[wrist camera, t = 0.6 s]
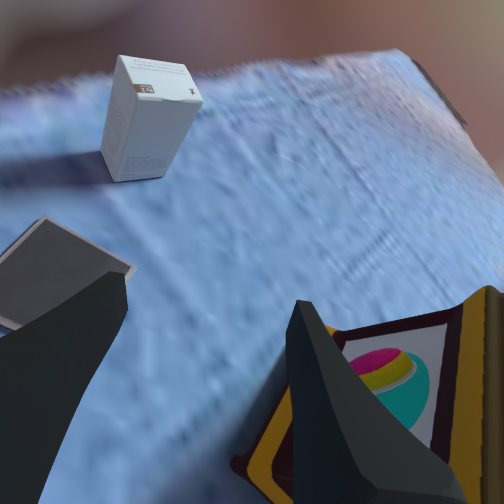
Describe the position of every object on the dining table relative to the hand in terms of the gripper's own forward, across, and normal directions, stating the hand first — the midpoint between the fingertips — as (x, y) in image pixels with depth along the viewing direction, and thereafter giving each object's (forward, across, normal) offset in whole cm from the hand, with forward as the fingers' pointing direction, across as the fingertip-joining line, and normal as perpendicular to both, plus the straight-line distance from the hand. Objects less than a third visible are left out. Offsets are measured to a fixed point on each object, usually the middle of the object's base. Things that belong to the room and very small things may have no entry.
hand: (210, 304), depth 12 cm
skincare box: (+23, +12, +4) cm, 27 cm away
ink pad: (+10, +14, +10) cm, 19 cm away
